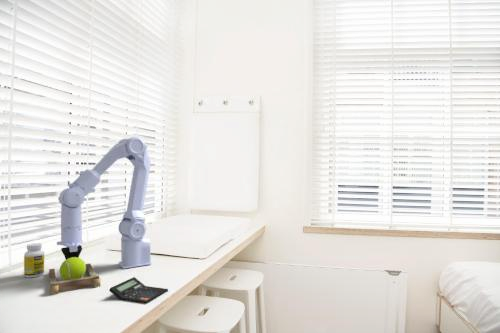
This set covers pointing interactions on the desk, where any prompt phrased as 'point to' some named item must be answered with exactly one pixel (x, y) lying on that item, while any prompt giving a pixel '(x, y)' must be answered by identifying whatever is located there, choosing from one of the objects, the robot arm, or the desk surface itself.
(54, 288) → the level stand
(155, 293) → the calculator
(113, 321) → the desk surface
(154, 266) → the desk surface
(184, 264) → the desk surface
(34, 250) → the supplement bottle
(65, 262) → the tennis ball
